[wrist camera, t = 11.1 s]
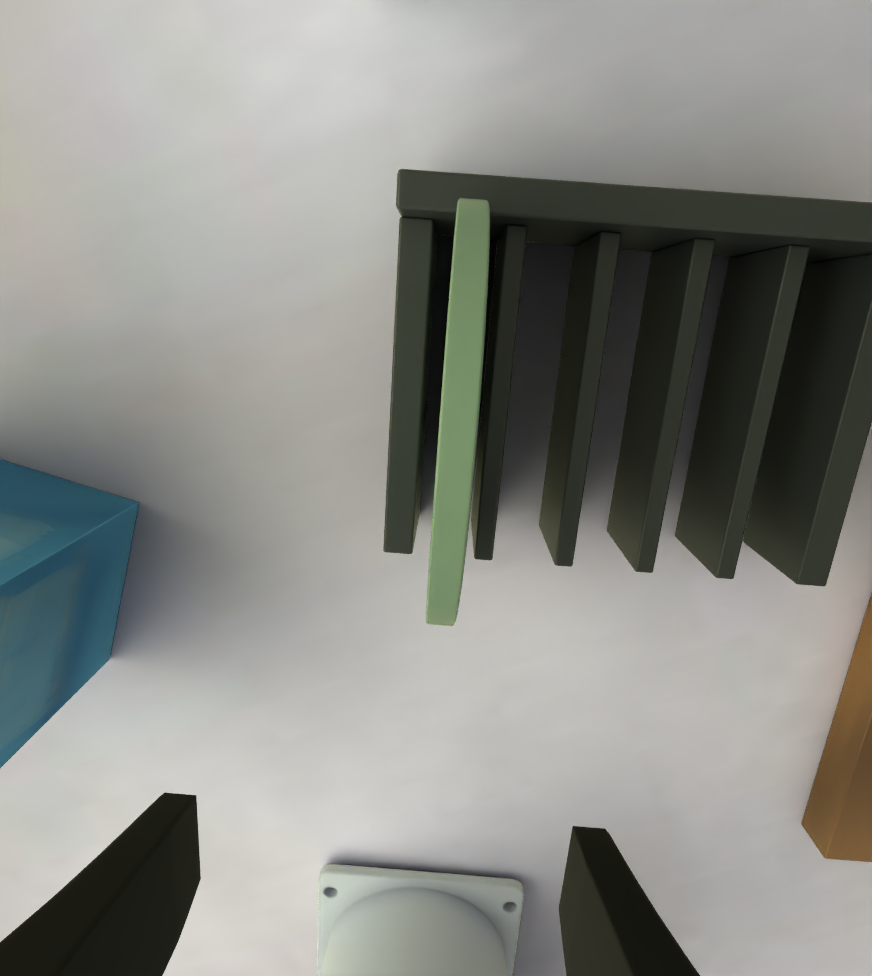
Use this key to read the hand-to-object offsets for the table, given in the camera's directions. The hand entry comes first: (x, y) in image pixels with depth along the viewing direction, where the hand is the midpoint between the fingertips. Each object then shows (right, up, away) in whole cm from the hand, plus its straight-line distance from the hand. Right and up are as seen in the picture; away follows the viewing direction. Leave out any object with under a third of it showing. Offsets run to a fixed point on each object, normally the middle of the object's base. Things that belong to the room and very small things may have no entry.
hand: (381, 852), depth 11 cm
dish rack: (+6, +10, +7) cm, 13 cm away
